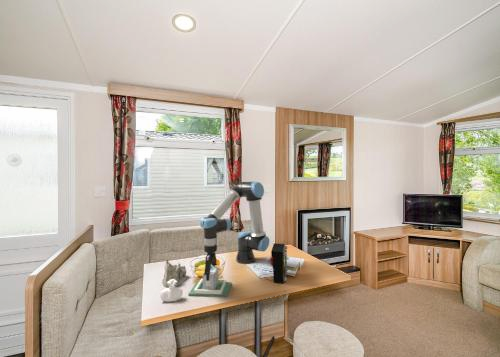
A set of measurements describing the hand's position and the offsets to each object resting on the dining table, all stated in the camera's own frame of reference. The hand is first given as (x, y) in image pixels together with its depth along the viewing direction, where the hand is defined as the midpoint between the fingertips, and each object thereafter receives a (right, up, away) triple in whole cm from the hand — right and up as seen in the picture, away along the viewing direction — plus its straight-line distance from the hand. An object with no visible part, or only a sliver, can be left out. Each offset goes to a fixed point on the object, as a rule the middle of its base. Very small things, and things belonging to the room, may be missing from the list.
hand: (210, 280), depth 134 cm
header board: (0, -5, 0) cm, 5 cm away
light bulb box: (0, -4, 0) cm, 4 cm away
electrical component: (+43, -5, +16) cm, 46 cm away
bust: (-20, -6, -10) cm, 23 cm away
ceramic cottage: (-26, -6, +11) cm, 29 cm away
